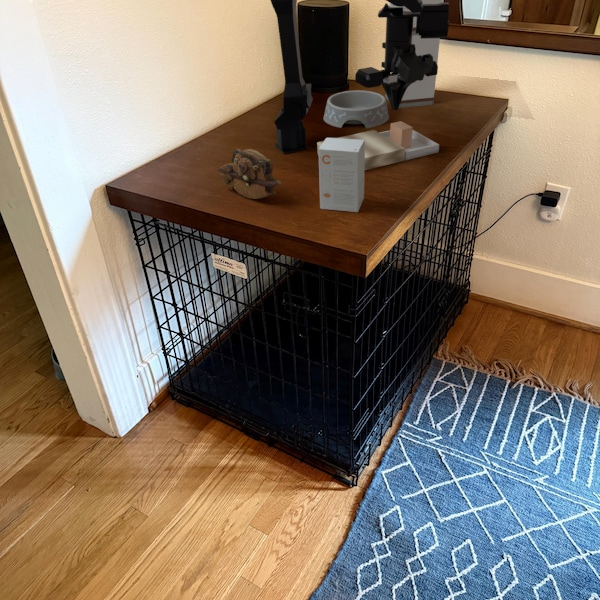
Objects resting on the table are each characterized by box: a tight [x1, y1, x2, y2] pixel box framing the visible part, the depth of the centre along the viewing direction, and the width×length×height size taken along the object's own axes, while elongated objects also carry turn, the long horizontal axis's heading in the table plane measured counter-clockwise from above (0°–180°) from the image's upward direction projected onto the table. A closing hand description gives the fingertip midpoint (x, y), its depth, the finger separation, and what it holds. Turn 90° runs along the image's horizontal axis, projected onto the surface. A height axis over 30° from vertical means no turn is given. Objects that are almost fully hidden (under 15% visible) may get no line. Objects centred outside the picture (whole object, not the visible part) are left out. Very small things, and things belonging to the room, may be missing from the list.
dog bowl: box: [323, 89, 390, 129], centre depth 156 cm, size 17×18×5 cm
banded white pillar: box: [384, 0, 445, 109], centre depth 156 cm, size 11×11×35 cm
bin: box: [379, 129, 440, 161], centre depth 139 cm, size 9×14×2 cm
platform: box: [316, 129, 405, 171], centre depth 134 cm, size 16×14×3 cm
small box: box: [318, 137, 365, 213], centre depth 113 cm, size 8×6×13 cm
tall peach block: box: [389, 121, 414, 149], centre depth 137 cm, size 5×5×3 cm
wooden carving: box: [217, 148, 282, 200], centre depth 119 cm, size 16×5×10 cm, turn 55°
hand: (394, 110), depth 132 cm, fingers closed
